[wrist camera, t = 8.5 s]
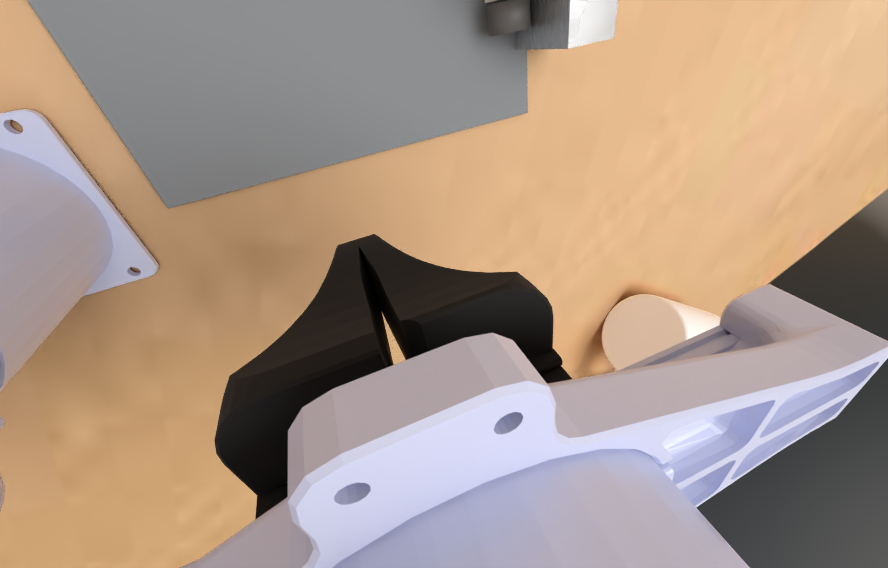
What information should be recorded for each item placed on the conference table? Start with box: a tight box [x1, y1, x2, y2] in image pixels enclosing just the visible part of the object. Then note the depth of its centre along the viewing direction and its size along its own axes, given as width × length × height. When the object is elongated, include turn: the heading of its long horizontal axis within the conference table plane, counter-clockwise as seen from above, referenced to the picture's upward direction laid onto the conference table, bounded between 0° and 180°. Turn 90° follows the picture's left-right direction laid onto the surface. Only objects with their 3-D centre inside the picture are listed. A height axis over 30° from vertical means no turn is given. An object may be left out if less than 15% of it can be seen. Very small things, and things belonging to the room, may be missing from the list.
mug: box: [602, 294, 721, 372], centre depth 35 cm, size 12×10×8 cm
